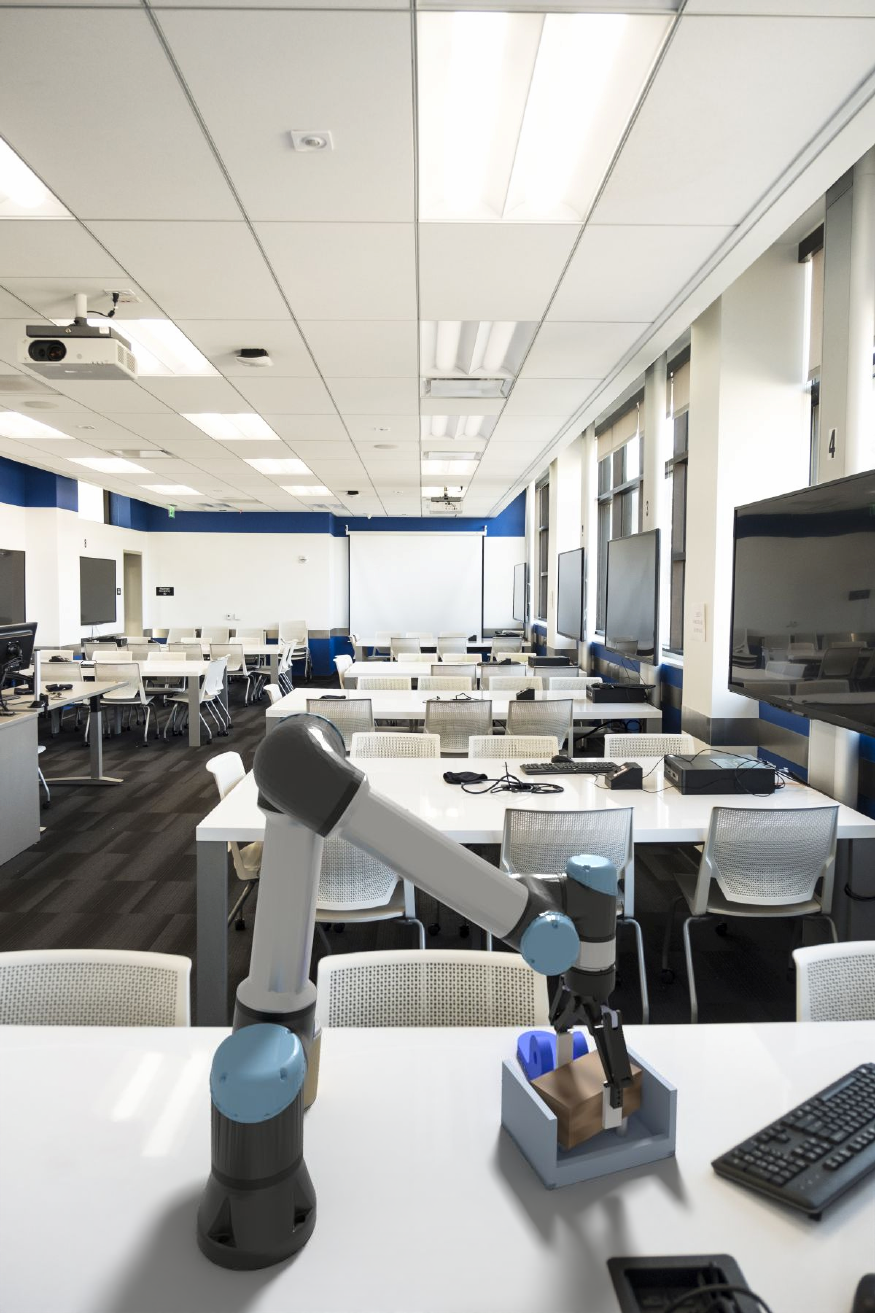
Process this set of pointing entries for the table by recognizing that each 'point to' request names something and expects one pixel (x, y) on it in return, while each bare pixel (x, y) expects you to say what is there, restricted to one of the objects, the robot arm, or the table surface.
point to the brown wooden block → (582, 1097)
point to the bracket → (545, 1051)
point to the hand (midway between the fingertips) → (586, 1098)
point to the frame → (602, 1153)
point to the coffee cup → (313, 1066)
